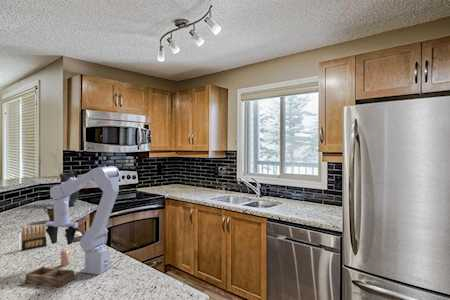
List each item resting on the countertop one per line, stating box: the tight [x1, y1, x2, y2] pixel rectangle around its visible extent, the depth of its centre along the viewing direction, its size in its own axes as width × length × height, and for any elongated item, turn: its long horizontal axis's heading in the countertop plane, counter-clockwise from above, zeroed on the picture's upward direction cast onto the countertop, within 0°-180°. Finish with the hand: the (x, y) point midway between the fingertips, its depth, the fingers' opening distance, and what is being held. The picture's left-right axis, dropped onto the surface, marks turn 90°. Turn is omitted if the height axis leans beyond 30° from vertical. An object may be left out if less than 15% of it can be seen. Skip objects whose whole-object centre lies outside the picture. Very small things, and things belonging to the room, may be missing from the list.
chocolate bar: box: [65, 230, 85, 243], centre depth 169 cm, size 9×1×18 cm
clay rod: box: [60, 249, 70, 267], centre depth 130 cm, size 3×3×6 cm
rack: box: [24, 266, 76, 288], centre depth 115 cm, size 16×8×3 cm, turn 75°
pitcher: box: [58, 170, 80, 208], centre depth 256 cm, size 17×21×30 cm
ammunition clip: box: [21, 222, 47, 252], centre depth 151 cm, size 11×2×12 cm, turn 130°
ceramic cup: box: [43, 205, 54, 222], centre depth 204 cm, size 13×10×10 cm
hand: (62, 243), depth 130 cm, fingers open, 7 cm apart
